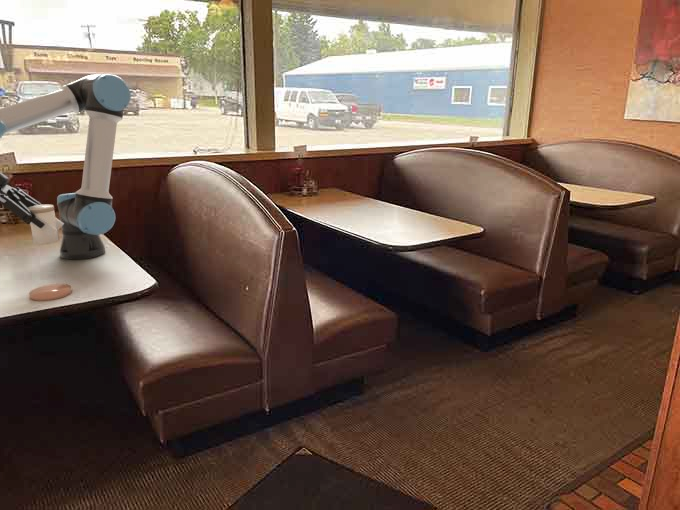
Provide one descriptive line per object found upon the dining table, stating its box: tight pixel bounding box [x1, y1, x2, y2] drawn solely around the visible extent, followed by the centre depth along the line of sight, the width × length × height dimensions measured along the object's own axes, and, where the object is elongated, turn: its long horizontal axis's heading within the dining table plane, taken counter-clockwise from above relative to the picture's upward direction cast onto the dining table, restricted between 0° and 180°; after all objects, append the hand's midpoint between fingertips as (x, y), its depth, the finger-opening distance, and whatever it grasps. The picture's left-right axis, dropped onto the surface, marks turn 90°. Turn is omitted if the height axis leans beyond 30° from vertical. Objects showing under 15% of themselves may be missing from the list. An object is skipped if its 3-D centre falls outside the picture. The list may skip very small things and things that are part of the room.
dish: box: [28, 283, 73, 302], centre depth 153 cm, size 11×11×1 cm
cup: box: [28, 203, 60, 246], centre depth 160 cm, size 7×7×11 cm
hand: (57, 229), depth 161 cm, fingers closed on cup, 7 cm apart
